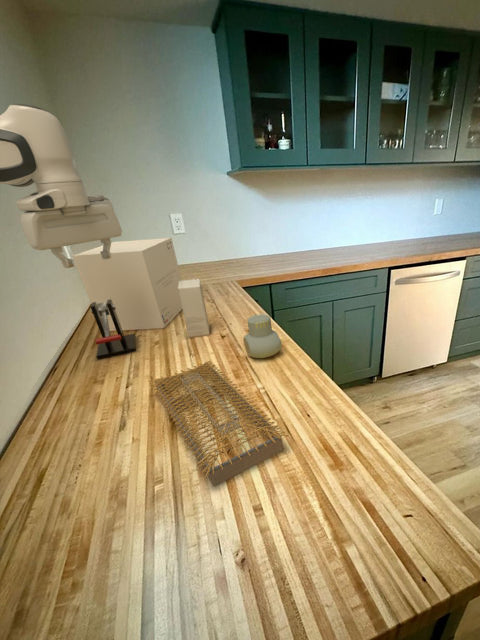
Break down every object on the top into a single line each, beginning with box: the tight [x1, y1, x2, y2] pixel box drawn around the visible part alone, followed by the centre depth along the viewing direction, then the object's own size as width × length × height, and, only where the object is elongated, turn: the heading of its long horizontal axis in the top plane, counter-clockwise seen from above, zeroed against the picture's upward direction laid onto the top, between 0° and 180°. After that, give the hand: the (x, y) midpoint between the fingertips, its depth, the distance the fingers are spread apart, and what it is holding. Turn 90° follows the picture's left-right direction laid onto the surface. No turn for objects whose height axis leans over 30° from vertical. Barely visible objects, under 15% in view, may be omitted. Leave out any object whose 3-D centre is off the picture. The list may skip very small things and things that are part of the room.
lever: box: [94, 302, 121, 345], centre depth 92 cm, size 13×6×2 cm, turn 25°
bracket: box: [90, 299, 137, 361], centre depth 97 cm, size 12×10×14 cm
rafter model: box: [148, 360, 290, 488], centre depth 65 cm, size 35×14×6 cm, turn 34°
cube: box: [71, 237, 183, 332], centre depth 117 cm, size 25×21×24 cm
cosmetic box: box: [178, 278, 210, 338], centre depth 103 cm, size 8×7×16 cm
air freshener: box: [242, 313, 283, 359], centre depth 88 cm, size 11×8×10 cm
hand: (89, 262), depth 81 cm, fingers open, 8 cm apart
